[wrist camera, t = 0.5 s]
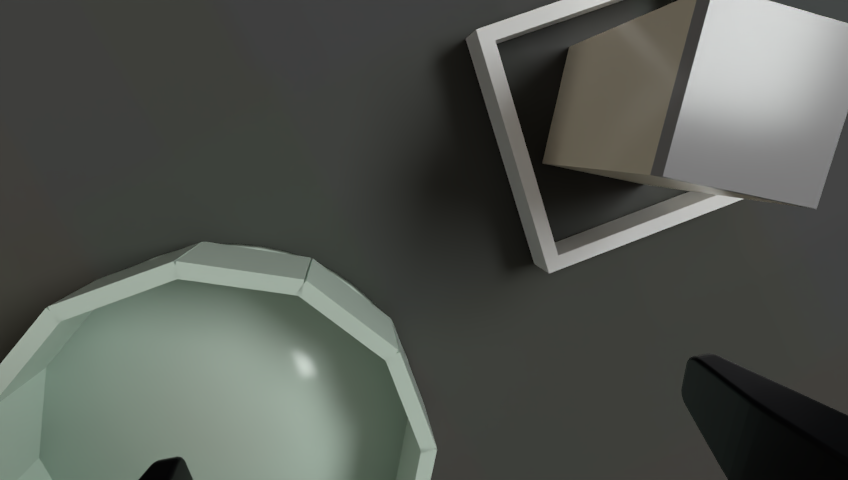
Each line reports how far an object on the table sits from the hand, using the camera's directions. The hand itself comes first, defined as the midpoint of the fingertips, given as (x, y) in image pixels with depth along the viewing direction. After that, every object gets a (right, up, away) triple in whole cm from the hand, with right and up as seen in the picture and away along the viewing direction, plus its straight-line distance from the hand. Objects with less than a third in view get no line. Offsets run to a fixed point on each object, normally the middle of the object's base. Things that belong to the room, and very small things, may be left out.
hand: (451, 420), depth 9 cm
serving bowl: (-9, -5, +14) cm, 17 cm away
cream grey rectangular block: (+8, +9, +14) cm, 18 cm away
